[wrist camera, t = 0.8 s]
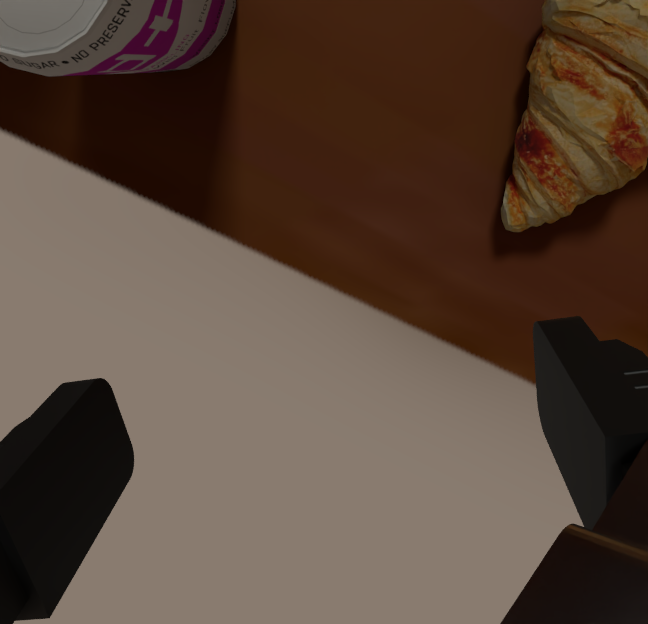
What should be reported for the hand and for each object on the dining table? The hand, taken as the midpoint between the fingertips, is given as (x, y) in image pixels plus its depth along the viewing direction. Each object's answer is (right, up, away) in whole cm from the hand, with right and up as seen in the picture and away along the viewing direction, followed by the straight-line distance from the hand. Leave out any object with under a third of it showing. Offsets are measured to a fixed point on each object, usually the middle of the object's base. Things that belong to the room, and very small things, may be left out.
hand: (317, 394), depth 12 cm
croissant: (+16, +15, +21) cm, 30 cm away
